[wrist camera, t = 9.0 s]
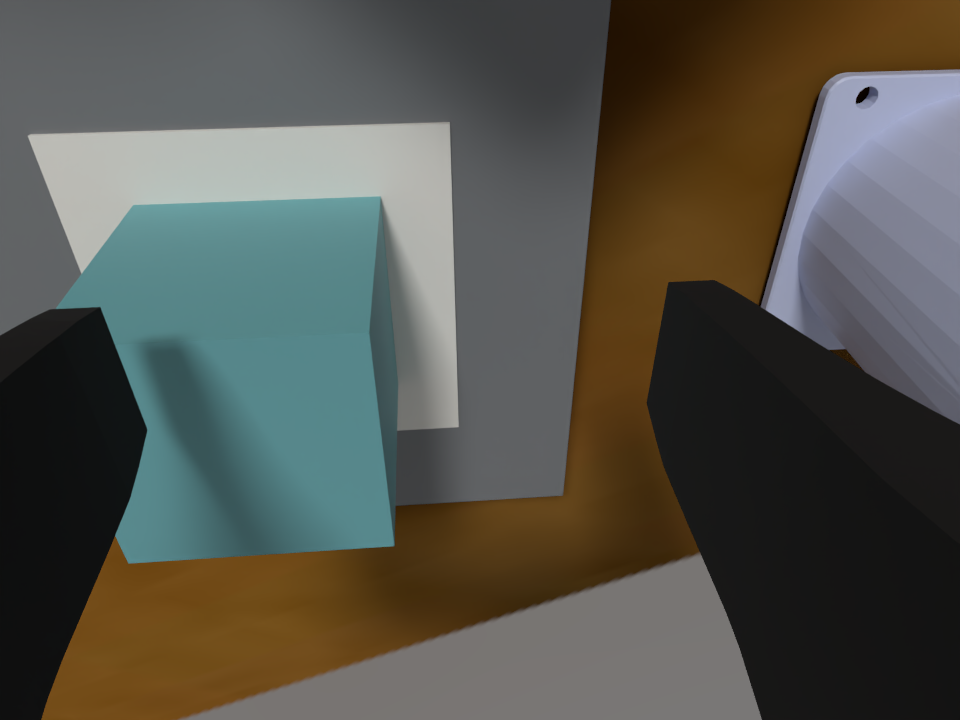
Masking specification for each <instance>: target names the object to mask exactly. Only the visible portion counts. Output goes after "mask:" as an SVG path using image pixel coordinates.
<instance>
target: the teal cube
mask: <svg viewBox="0 0 960 720" xmlns="http://www.w3.org/2000/svg"><path fill="white" fill-rule="evenodd" d="M90 307H101V310H102V313H103V315H104V318H105V320H106V323H107V326H108V328H109V331H110V333H111V336H112V339H113V341H114V344H115V346H116V349H117V352H118V354H119V357H120V359H121V362H122V365H123V367H124V370H125V372H126V375H127V378H128V380H129V383H130V385H131V388H132V391H133V393H134V396H135V398H136V401H137V404H138V406H139V409H140V411H141V414H142V417H143V419H144V422H145V424H146V427H147V435H146V439H145V443H144V447H143V452H142V456H141V460H140V464H139V468H138V472H137V476H136V479H135V483H134V487H133V490H132V494H131V498H130V500H129V503H128V505H127V508H126V510H125V513H124V515H123V518H122V520H121V523H120V525H119V527H118V530H117V532H116V535H115V536H116V538H117V540H118V542H119V545H120V547H121V549H122V551H123V553H124V555H125V557H126V559H127V561H128V563H143V562H158V561H173V560H189V559H204V558H219V557H235V556H250V555H266V554H281V553H296V552H312V551H327V550H342V549H358V548H373V547H389V546H394V544H395V502H396V460H397V418H398V376H397V365H396V355H395V344H394V333H393V323H392V312H391V301H390V291H389V280H388V269H387V258H386V248H385V237H384V226H383V216H382V205H381V196H376V197H348V198H319V199H291V200H263V201H234V202H206V203H178V204H149V205H133V206H132V207H131V209H130V210H129V211H128V213H127V214H126V215H125V217H124V218H123V219H122V221H121V222H120V223H119V225H118V226H117V227H116V229H115V230H114V231H113V233H112V234H111V235H110V237H109V238H108V239H107V241H106V242H105V243H104V245H103V246H102V247H101V249H100V250H99V251H98V253H97V254H96V255H95V257H94V258H93V259H92V261H91V262H90V263H89V265H88V266H87V267H86V269H85V270H84V271H83V273H82V274H81V275H80V277H79V278H78V279H77V281H76V282H75V283H74V285H73V286H72V287H71V289H70V290H69V291H68V293H67V294H66V295H65V297H64V298H63V299H62V301H61V302H60V303H59V305H58V306H57V307H56V309H67V308H90Z"/></svg>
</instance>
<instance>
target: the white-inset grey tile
mask: <svg viewBox="0 0 960 720" xmlns="http://www.w3.org/2000/svg"><path fill="white" fill-rule="evenodd" d="M610 6H611V0H0V335H2V334H4V333H5V332H7V331H9V330H11V329H12V328H14V327H16V326H18V325H19V324H21V323H23V322H25V321H27V320H29V319H31V318H33V317H35V316H37V315H39V314H41V313H43V312H45V311H47V310H49V309H56V307H57V306H58V305H59V303H60V302H61V301H62V299H63V298H64V297H65V295H66V294H67V293H68V291H69V290H70V289H71V287H72V286H73V285H74V283H75V282H76V281H77V279H78V278H79V277H80V275H81V274H82V273H83V271H84V270H85V269H86V267H87V266H88V265H89V263H90V262H91V261H92V259H93V258H94V257H95V255H96V254H97V253H98V251H99V250H100V249H101V247H102V246H103V245H104V243H105V242H106V241H107V239H108V238H109V237H110V235H111V234H112V233H113V231H114V230H115V229H116V227H117V226H118V225H119V223H120V222H121V221H122V219H123V218H124V217H125V215H126V214H127V213H128V211H129V210H130V209H131V207H132V206H133V205H149V204H178V203H206V202H234V201H263V200H291V199H319V198H348V197H376V196H381V205H382V216H383V226H384V237H385V248H386V258H387V269H388V280H389V291H390V301H391V312H392V323H393V333H394V344H395V355H396V365H397V376H398V418H397V460H396V502H395V506H400V505H416V504H433V503H449V502H465V501H481V500H498V499H514V498H530V497H546V496H562V495H563V490H564V479H565V469H566V459H567V449H568V438H569V428H570V418H571V407H572V397H573V387H574V376H575V366H576V356H577V346H578V335H579V325H580V315H581V304H582V294H583V284H584V274H585V263H586V253H587V243H588V232H589V222H590V212H591V201H592V191H593V181H594V171H595V160H596V150H597V140H598V129H599V119H600V109H601V99H602V88H603V78H604V68H605V57H606V47H607V37H608V26H609V16H610Z"/></svg>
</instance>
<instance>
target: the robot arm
mask: <svg viewBox="0 0 960 720" xmlns="http://www.w3.org/2000/svg"><path fill="white" fill-rule="evenodd" d="M866 87H870V89H869V94H868V96H867V98H866V99H865V100H864V101H862V102H861V103H858V104H856V97H857V96H858V94H859V92H860V91H862V90H863V89H864V88H866ZM837 349H846V350H847V351H848V352H849V353H850V355H851V356H852V357H853V358H854V359H855V361H856V362H857V363H858V364H859V365H860V366H861V368H862V369H863V370H864V371H865V372H864V371H862V370H861V369H859V368H857V367H856V366H854V365H852V364H851V363H849V362H847V361H846V360H844V359H842V358H841V357H839V356H837V355H836V354H834V353H833V352H831V351H829V350H837ZM647 406H648V410H649V414H650V418H651V421H652V425H653V429H654V433H655V437H656V441H657V444H658V448H659V451H660V455H661V458H662V462H663V465H664V468H665V470H666V473H667V475H668V478H669V480H670V483H671V485H672V487H673V490H674V492H675V495H676V497H677V499H678V502H679V504H680V506H681V509H682V511H683V513H684V516H685V518H686V521H687V523H688V525H689V527H690V530H691V532H692V534H693V537H694V539H695V541H696V544H697V546H698V548H699V551H700V553H701V555H702V558H703V560H704V562H705V565H706V567H707V569H708V571H709V574H710V576H711V578H712V581H713V583H714V585H715V587H716V590H717V592H718V595H719V597H720V599H721V601H722V604H723V606H724V609H725V611H726V613H727V616H728V618H729V621H730V624H731V626H732V629H733V632H734V634H735V637H736V640H737V642H738V645H739V648H740V651H741V654H742V657H743V660H744V663H745V667H746V670H747V673H748V676H749V679H750V683H751V686H752V689H753V692H754V695H755V698H756V702H757V705H758V708H759V711H760V714H761V718H762V720H960V70H923V71H884V72H846V73H841V74H837V75H836V76H834V77H833V78H831V79H829V81H828V82H827V83H826V84H825V85H824V86H823V88H822V90H821V92H820V95H819V98H818V102H817V105H816V109H815V113H814V116H813V120H812V123H811V127H810V131H809V134H808V138H807V141H806V145H805V149H804V152H803V156H802V160H801V163H800V167H799V170H798V174H797V178H796V181H795V185H794V188H793V192H792V196H791V199H790V203H789V206H788V210H787V214H786V217H785V221H784V225H783V228H782V232H781V235H780V239H779V243H778V246H777V250H776V253H775V257H774V261H773V264H772V268H771V271H770V275H769V279H768V282H767V286H766V290H765V293H764V297H763V300H762V304H761V307H760V306H758V305H757V304H755V303H754V302H752V301H750V300H749V299H747V298H745V297H744V296H742V295H740V294H739V293H737V292H735V291H734V290H732V289H730V288H728V287H727V286H725V285H723V284H721V283H719V282H717V281H715V280H709V281H686V282H668V288H667V293H666V299H665V304H664V310H663V316H662V321H661V327H660V332H659V338H658V343H657V349H656V354H655V360H654V365H653V371H652V377H651V382H650V388H649V393H648V399H647ZM146 435H147V427H146V424H145V422H144V419H143V417H142V414H141V411H140V409H139V406H138V404H137V401H136V398H135V396H134V393H133V391H132V388H131V385H130V383H129V380H128V378H127V375H126V372H125V370H124V367H123V365H122V362H121V359H120V357H119V354H118V352H117V349H116V346H115V344H114V341H113V339H112V336H111V333H110V331H109V328H108V326H107V323H106V320H105V318H104V315H103V313H102V310H101V307H90V308H67V309H49V310H47V311H45V312H43V313H41V314H39V315H37V316H35V317H33V318H31V319H29V320H27V321H25V322H23V323H21V324H19V325H18V326H16V327H14V328H12V329H11V330H9V331H7V332H5V333H4V334H2V335H0V720H41V718H42V715H43V712H44V708H45V705H46V702H47V699H48V696H49V694H50V691H51V688H52V686H53V683H54V680H55V678H56V675H57V672H58V670H59V667H60V664H61V662H62V659H63V657H64V654H65V652H66V650H67V647H68V645H69V643H70V640H71V638H72V636H73V633H74V631H75V629H76V626H77V624H78V622H79V619H80V617H81V615H82V612H83V610H84V608H85V605H86V603H87V601H88V598H89V596H90V594H91V591H92V589H93V587H94V584H95V582H96V580H97V577H98V575H99V573H100V570H101V568H102V566H103V563H104V561H105V559H106V556H107V554H108V551H109V549H110V547H111V544H112V542H113V539H114V537H115V535H116V532H117V530H118V527H119V525H120V523H121V520H122V518H123V515H124V513H125V510H126V508H127V505H128V503H129V500H130V498H131V494H132V490H133V487H134V483H135V479H136V476H137V472H138V468H139V464H140V460H141V456H142V452H143V447H144V443H145V439H146Z"/></svg>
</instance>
